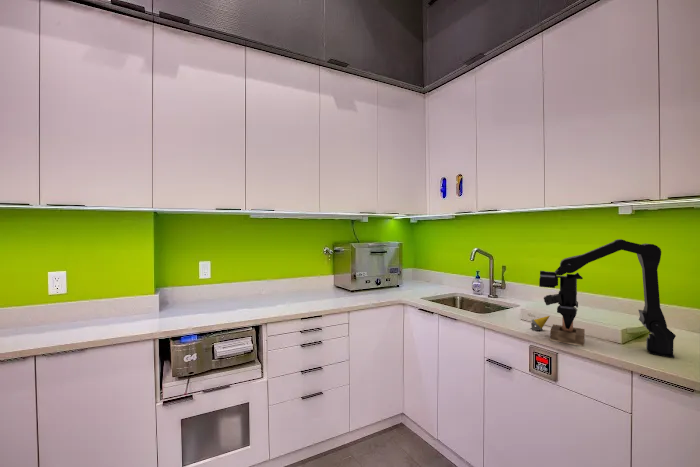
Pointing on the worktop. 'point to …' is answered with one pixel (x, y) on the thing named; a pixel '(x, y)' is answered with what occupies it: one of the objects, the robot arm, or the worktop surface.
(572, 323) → the peg
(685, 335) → the worktop surface
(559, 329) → the hole block
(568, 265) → the robot arm
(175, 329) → the worktop surface
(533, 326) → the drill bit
